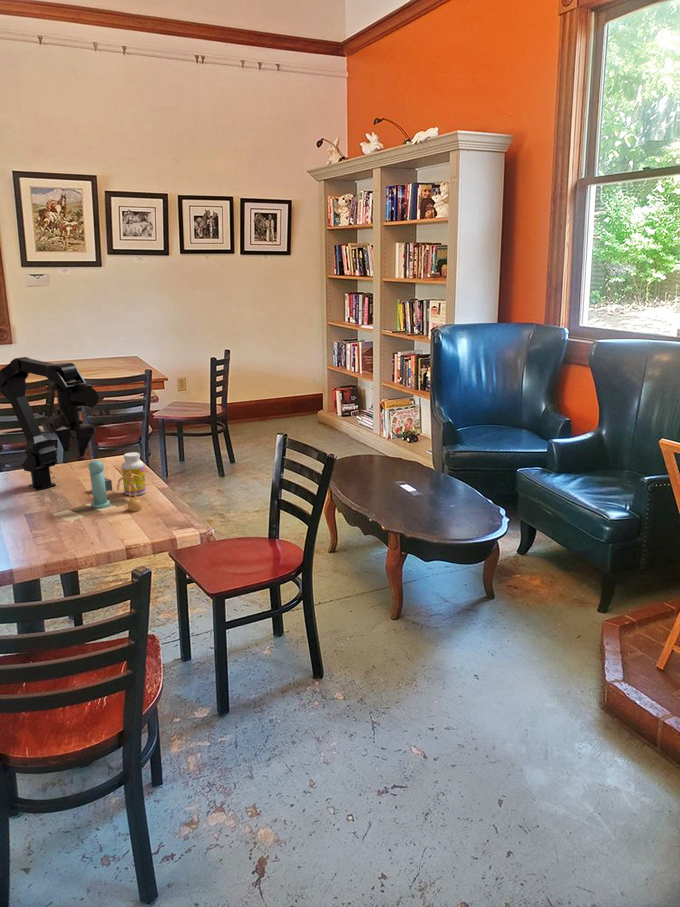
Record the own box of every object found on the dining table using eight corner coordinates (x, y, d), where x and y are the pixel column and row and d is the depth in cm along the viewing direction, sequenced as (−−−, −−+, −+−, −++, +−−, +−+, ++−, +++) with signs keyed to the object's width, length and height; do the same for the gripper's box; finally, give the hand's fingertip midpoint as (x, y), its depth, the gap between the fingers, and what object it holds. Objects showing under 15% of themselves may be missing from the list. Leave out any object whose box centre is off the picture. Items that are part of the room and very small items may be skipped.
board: (50, 516, 197) (50, 514, 197) (115, 497, 212) (115, 495, 212) (68, 524, 191) (67, 522, 191) (134, 504, 206) (133, 502, 206)
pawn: (88, 506, 203) (82, 460, 199) (104, 501, 207) (98, 457, 203) (97, 509, 200) (91, 464, 196) (113, 505, 204) (108, 460, 200)
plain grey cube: (94, 492, 218) (93, 480, 217) (105, 489, 221) (104, 477, 219) (101, 495, 215) (99, 483, 214) (112, 492, 218) (111, 480, 217)
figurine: (123, 516, 196) (119, 477, 193) (117, 511, 201) (112, 472, 198) (151, 510, 201) (148, 471, 197) (144, 505, 205) (141, 467, 202)
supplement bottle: (147, 495, 214) (143, 455, 211) (125, 497, 212) (120, 458, 209) (145, 488, 220) (142, 450, 217) (124, 491, 218) (120, 452, 215)
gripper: (27, 405, 209) (34, 454, 213) (58, 413, 197) (64, 464, 202) (62, 399, 217) (68, 447, 221) (93, 406, 206) (99, 456, 210)
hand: (74, 453), depth 213 cm, fingers open, 9 cm apart
